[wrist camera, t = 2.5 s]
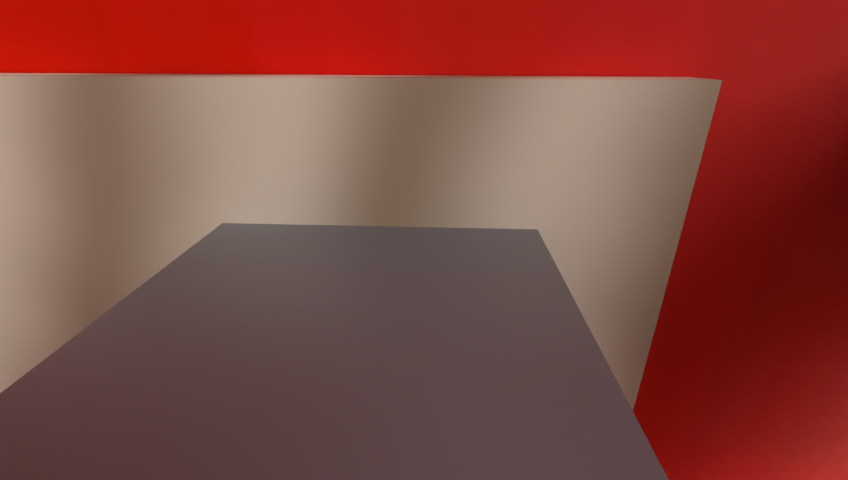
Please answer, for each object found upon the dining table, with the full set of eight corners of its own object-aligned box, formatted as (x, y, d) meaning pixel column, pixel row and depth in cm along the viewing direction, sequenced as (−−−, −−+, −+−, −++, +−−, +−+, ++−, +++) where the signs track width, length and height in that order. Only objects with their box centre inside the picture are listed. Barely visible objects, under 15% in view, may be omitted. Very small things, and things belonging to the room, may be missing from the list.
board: (690, 77, 8) (722, 79, 7) (589, 496, 13) (600, 530, 12) (-458, 70, 9) (-561, 72, 8) (-152, 463, 14) (-194, 492, 13)
